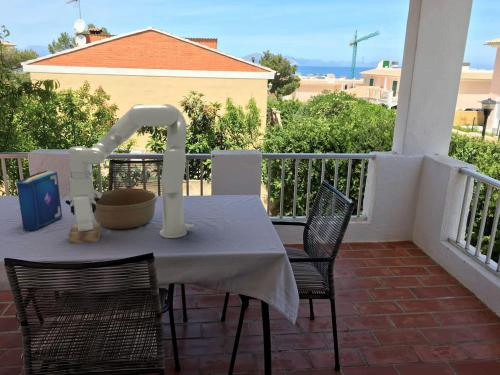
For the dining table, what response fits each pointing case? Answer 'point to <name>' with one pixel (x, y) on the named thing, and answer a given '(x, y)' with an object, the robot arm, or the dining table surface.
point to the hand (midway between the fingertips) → (83, 212)
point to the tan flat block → (84, 234)
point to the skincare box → (83, 213)
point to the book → (39, 200)
